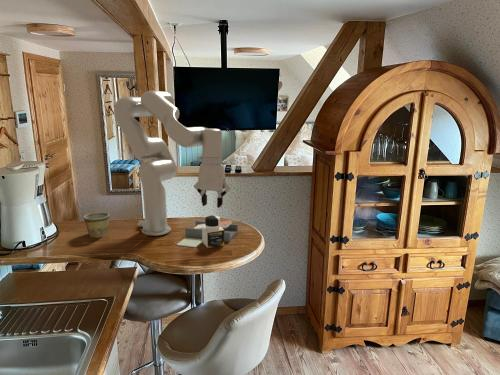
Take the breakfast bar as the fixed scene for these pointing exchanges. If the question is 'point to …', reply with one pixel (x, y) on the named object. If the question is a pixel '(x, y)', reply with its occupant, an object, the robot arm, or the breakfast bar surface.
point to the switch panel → (228, 232)
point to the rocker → (222, 225)
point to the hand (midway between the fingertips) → (212, 205)
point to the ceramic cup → (97, 224)
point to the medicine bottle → (212, 232)
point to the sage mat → (190, 242)
